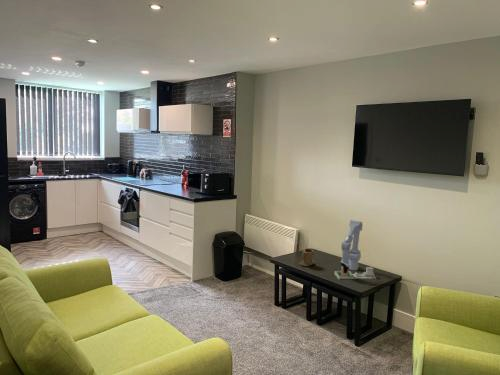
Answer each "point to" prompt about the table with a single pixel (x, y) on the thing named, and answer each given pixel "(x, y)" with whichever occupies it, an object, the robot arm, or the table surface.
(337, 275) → the tray
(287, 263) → the table surface
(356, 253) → the robot arm
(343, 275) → the block
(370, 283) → the table surface
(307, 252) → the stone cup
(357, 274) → the fuse block
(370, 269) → the block
